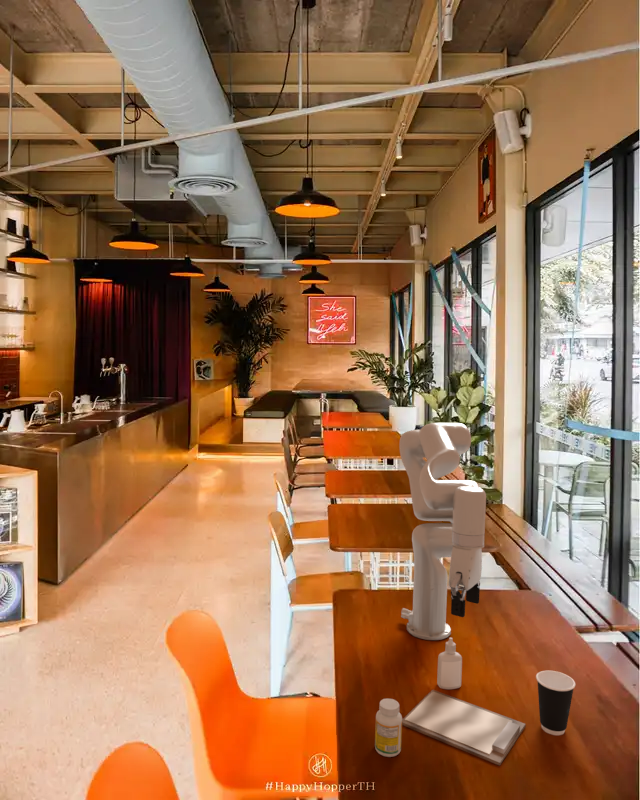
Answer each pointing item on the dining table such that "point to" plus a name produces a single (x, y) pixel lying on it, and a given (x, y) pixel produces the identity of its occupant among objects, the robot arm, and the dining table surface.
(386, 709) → the supplement bottle
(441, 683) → the eye dropper bottle
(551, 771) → the dining table surface
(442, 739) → the clipboard
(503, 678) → the dining table surface
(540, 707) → the dixie cup
